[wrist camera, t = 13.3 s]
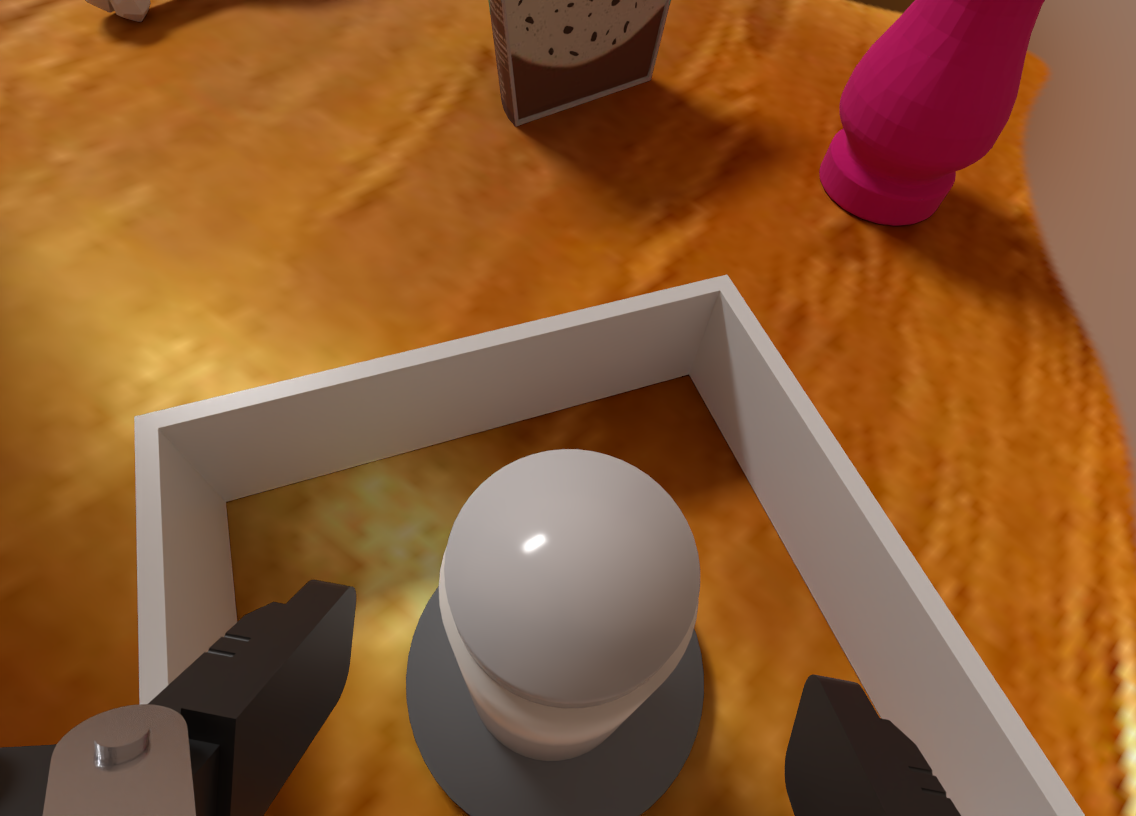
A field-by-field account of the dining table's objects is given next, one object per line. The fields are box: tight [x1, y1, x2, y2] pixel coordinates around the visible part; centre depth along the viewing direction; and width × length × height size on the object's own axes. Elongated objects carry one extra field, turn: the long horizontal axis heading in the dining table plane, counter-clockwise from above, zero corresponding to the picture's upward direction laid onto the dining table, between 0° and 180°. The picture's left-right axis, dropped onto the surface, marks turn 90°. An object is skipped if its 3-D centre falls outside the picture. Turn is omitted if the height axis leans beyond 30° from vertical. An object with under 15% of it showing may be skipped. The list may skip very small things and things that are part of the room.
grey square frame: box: [134, 275, 1085, 816], centre depth 18 cm, size 19×19×5 cm
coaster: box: [406, 586, 704, 816], centre depth 20 cm, size 9×9×1 cm
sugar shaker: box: [439, 449, 700, 761], centre depth 16 cm, size 5×5×10 cm
